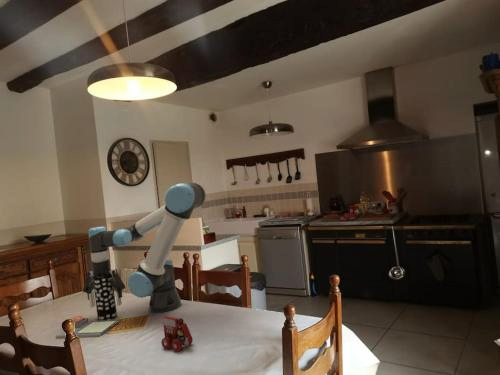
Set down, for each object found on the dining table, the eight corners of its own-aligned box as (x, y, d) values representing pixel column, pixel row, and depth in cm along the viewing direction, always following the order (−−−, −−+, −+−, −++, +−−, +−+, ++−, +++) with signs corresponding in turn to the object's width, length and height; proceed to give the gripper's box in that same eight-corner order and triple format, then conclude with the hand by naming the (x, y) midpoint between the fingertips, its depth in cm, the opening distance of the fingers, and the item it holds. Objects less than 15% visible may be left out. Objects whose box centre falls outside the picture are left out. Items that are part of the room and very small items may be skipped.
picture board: (120, 321, 163) (119, 315, 163) (100, 336, 148) (100, 329, 148) (78, 323, 166) (78, 317, 166) (56, 338, 152) (55, 331, 152)
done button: (85, 320, 163) (84, 315, 163) (79, 324, 159) (78, 319, 159) (76, 321, 164) (76, 316, 164) (71, 324, 160) (70, 319, 160)
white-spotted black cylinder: (98, 323, 164) (93, 279, 164) (97, 317, 172) (92, 275, 171) (118, 318, 168) (113, 275, 168) (115, 313, 176) (110, 272, 175)
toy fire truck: (183, 354, 124) (180, 323, 124) (158, 348, 131) (155, 319, 131) (197, 345, 130) (194, 316, 130) (173, 340, 137) (169, 312, 137)
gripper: (129, 256, 171) (134, 301, 171) (81, 260, 175) (86, 304, 176) (121, 260, 164) (126, 307, 164) (71, 264, 168) (76, 310, 168)
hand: (106, 305), depth 170 cm, fingers open, 13 cm apart
